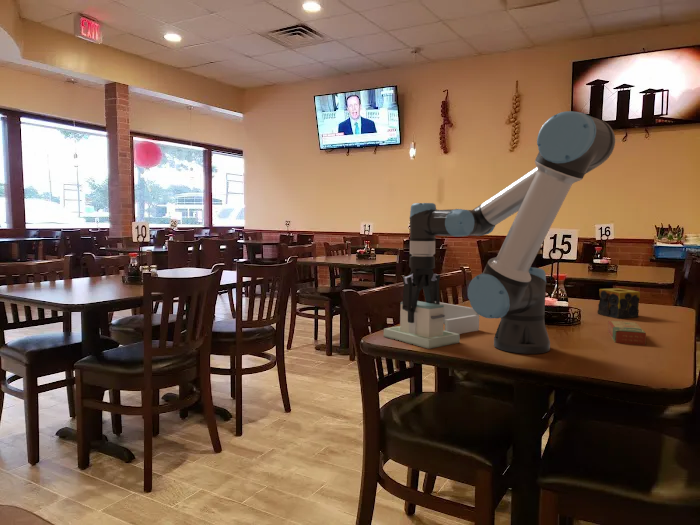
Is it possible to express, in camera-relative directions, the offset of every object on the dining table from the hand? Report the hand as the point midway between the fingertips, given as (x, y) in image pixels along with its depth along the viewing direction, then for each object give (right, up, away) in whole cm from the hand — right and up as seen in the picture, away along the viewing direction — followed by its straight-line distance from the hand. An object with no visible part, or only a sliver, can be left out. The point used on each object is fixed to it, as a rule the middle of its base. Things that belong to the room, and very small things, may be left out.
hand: (420, 331), depth 157 cm
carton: (+64, -3, +4) cm, 64 cm away
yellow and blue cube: (+81, 0, +42) cm, 91 cm away
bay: (+8, -1, +18) cm, 20 cm away
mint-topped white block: (0, 0, 0) cm, 0 cm away
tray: (0, -2, 0) cm, 2 cm away
